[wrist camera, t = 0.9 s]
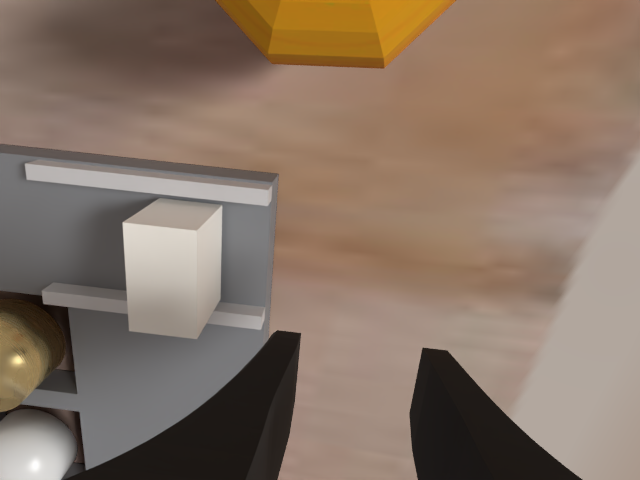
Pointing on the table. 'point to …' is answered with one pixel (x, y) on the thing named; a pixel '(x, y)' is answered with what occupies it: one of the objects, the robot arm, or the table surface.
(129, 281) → the white block
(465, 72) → the table surface
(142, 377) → the control panel
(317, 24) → the carrot
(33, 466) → the white button
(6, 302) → the brass button
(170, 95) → the table surface
